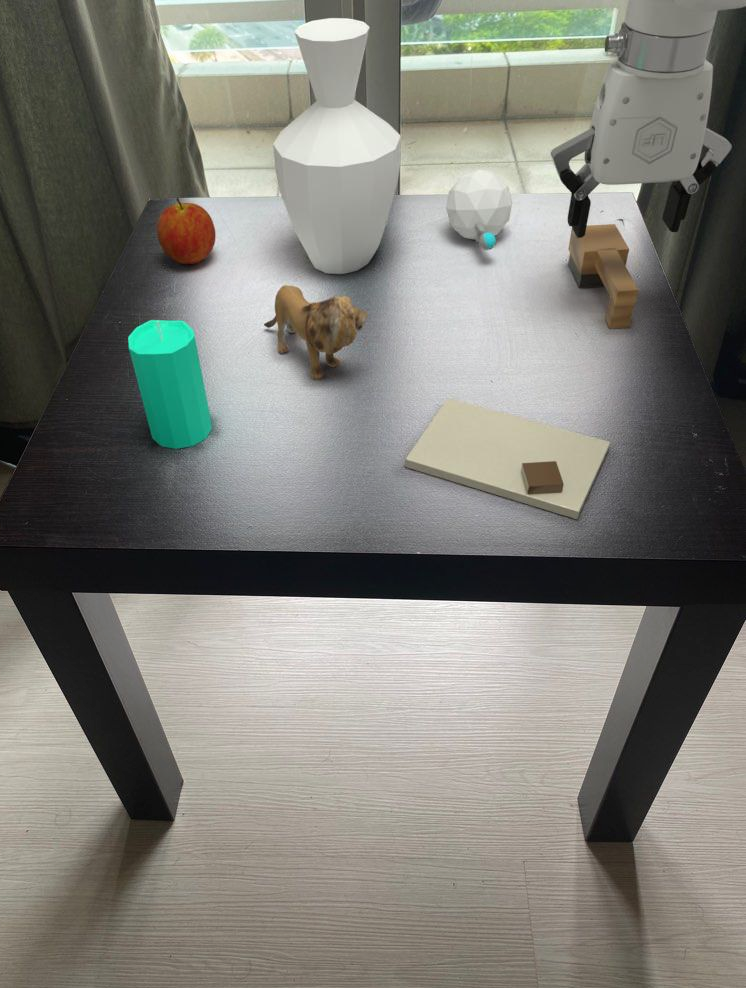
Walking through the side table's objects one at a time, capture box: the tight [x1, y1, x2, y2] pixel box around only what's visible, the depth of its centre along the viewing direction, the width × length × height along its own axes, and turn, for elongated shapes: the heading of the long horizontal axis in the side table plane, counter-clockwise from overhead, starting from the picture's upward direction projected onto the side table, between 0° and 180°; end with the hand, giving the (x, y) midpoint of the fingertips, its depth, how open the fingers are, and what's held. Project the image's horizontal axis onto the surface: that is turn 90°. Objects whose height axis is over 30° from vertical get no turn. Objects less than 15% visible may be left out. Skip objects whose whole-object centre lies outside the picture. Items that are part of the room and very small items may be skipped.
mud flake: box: [521, 461, 564, 494], centre depth 73 cm, size 3×3×1 cm
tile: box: [404, 397, 611, 520], centre depth 77 cm, size 16×10×1 cm, turn 63°
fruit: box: [156, 197, 216, 265], centre depth 102 cm, size 7×7×8 cm
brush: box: [567, 223, 640, 329], centre depth 94 cm, size 14×5×5 cm, turn 3°
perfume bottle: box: [445, 168, 513, 251], centre depth 103 cm, size 8×8×12 cm
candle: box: [127, 319, 213, 450], centre depth 78 cm, size 6×6×12 cm
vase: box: [272, 17, 402, 275], centre depth 95 cm, size 14×14×25 cm
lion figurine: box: [263, 284, 368, 380], centre depth 87 cm, size 15×5×9 cm, turn 44°
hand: (623, 228), depth 88 cm, fingers open, 9 cm apart
